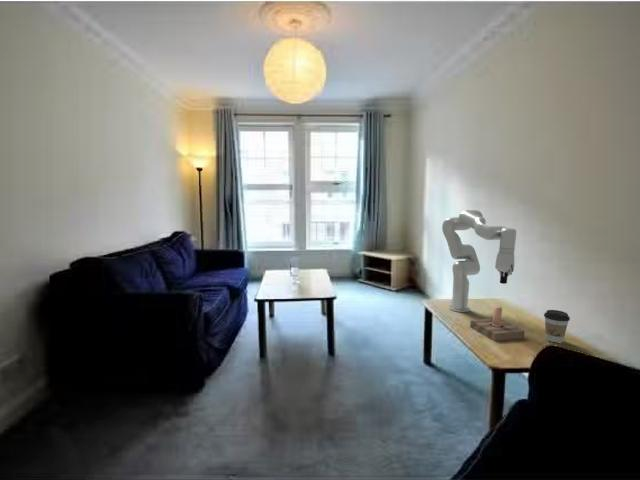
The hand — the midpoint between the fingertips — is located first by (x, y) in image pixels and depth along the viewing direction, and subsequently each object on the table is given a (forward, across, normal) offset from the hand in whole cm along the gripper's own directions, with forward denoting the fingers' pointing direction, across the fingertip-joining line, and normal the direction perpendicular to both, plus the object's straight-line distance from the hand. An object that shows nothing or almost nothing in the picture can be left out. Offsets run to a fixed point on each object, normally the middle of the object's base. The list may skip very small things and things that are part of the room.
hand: (503, 283), depth 212 cm
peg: (+25, +9, -8) cm, 27 cm away
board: (+25, +9, -8) cm, 28 cm away
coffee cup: (+24, +24, +15) cm, 37 cm away
